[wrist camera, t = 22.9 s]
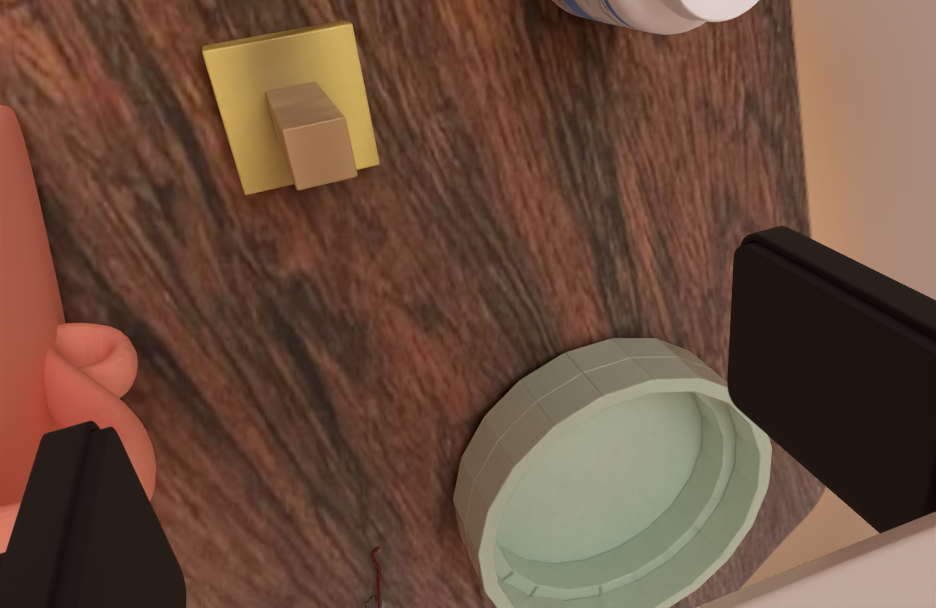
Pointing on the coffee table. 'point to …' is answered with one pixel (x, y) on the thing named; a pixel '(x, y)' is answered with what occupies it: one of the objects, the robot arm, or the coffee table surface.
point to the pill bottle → (657, 12)
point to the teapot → (50, 345)
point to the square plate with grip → (293, 106)
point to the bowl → (610, 480)
